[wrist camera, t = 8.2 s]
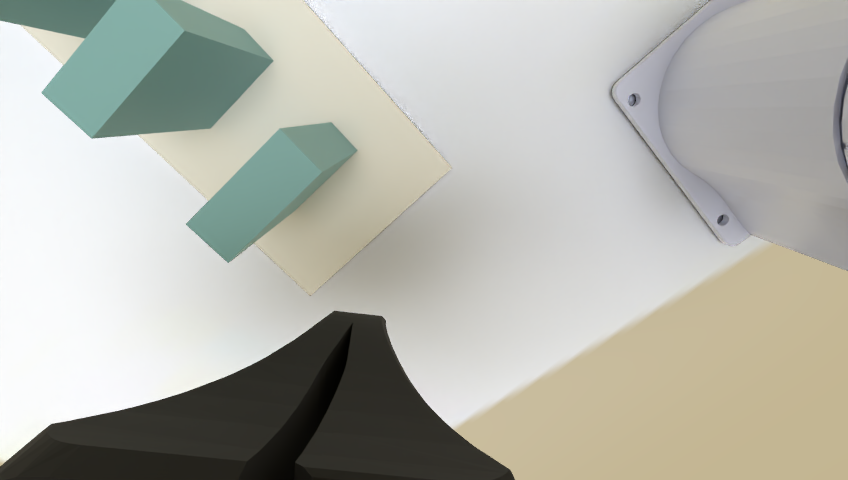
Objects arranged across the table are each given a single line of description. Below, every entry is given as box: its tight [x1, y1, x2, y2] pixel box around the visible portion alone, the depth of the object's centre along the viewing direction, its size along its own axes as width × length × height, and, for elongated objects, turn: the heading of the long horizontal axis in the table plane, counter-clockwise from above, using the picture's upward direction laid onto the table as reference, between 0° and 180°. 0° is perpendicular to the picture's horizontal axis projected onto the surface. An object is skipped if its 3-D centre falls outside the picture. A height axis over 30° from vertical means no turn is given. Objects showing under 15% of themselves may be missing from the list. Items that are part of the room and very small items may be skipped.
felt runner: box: [21, 0, 452, 296], centre depth 17 cm, size 26×9×1 cm, turn 42°
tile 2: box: [42, 0, 274, 138], centre depth 15 cm, size 2×4×7 cm, turn 132°
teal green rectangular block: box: [186, 122, 358, 263], centre depth 16 cm, size 2×4×7 cm, turn 133°
